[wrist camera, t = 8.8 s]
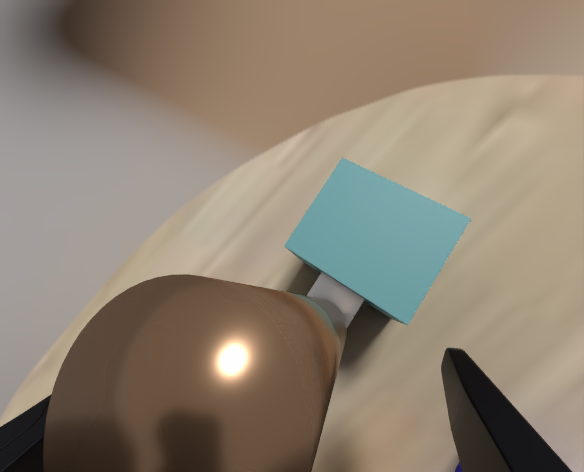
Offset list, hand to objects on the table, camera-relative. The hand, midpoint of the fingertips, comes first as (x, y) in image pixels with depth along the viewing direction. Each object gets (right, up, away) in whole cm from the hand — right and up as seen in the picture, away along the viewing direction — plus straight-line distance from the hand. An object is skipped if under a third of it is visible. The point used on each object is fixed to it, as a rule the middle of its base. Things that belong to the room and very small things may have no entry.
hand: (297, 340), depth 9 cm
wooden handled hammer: (0, -4, +6) cm, 7 cm away
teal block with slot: (+4, +2, +7) cm, 9 cm away
